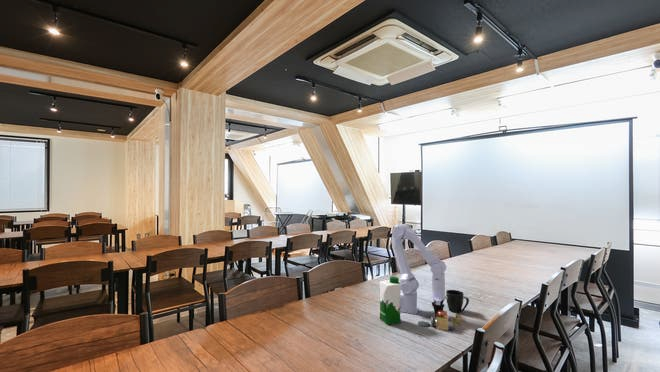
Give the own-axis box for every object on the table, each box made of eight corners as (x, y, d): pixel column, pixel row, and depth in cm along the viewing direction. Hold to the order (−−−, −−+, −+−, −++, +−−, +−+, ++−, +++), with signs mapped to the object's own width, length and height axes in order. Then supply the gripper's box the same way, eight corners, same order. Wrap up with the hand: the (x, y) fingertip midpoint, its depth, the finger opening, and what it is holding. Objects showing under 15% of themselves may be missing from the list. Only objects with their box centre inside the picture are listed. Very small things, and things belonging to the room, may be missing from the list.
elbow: (452, 324, 136) (452, 315, 136) (451, 322, 138) (451, 314, 138) (461, 324, 136) (461, 316, 136) (459, 323, 138) (459, 314, 138)
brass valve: (431, 327, 132) (431, 312, 132) (431, 323, 137) (431, 308, 137) (453, 331, 129) (453, 315, 129) (453, 327, 133) (453, 311, 134)
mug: (461, 318, 143) (461, 298, 144) (442, 309, 154) (442, 290, 154) (473, 315, 147) (473, 296, 147) (454, 306, 158) (454, 288, 158)
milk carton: (403, 323, 136) (403, 279, 136) (386, 326, 133) (386, 281, 133) (392, 316, 144) (393, 274, 145) (376, 318, 141) (377, 276, 141)
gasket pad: (417, 325, 134) (417, 325, 134) (418, 320, 139) (418, 320, 139) (430, 327, 132) (430, 327, 132) (430, 322, 137) (430, 322, 137)
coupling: (433, 319, 141) (433, 308, 142) (433, 315, 146) (433, 305, 146) (443, 320, 140) (443, 310, 140) (443, 317, 144) (443, 306, 144)
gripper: (447, 292, 135) (447, 322, 135) (447, 283, 148) (447, 310, 148) (431, 290, 138) (430, 319, 137) (432, 281, 151) (432, 308, 151)
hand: (438, 315), depth 143 cm, fingers open, 7 cm apart
